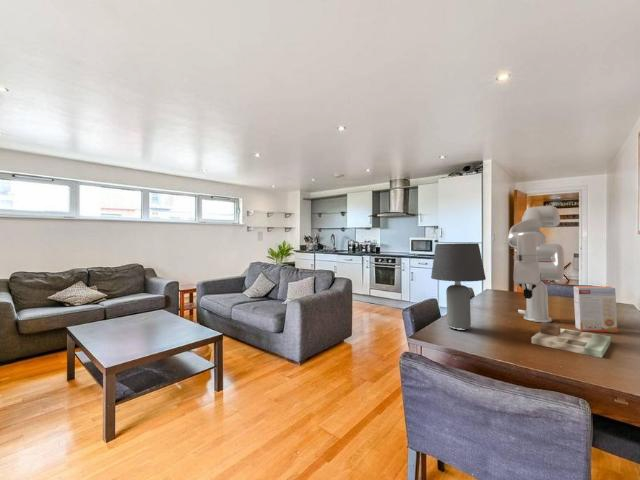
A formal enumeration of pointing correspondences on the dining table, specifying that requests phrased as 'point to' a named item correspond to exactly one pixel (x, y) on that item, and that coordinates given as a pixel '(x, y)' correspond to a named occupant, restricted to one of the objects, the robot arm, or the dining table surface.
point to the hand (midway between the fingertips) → (528, 298)
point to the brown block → (550, 328)
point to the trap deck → (575, 342)
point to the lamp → (458, 278)
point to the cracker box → (595, 309)
